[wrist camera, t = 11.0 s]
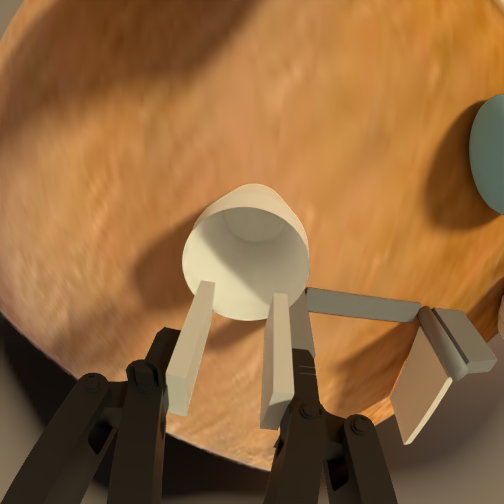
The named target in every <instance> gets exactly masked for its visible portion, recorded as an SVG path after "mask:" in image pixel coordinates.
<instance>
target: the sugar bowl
mask: <svg viewBox="0 0 504 504" xmlns="http://www.w3.org/2000/svg"><path fill="white" fill-rule="evenodd" d="M469 157H470V165H471V171H472V175H473V179H474V182H475V185H476V187H477V189H478V191H479V193H480V195H481V197H482V198H483V200H484V201H485V202H486V203H487V205H488V206H489V207H490V208H492V209H493V210H495V211H496V212H498V213H500V214H503V215H504V94H500V95H496V96H494V97H492V98H490V99H489V100H487V101H486V102H485V103H484V104H483V105H482V106H481V108H480V109H479V111H478V113H477V115H476V117H475V119H474V122H473V125H472V129H471V134H470V141H469Z"/></svg>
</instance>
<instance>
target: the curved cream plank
mask: <svg viewBox="0 0 504 504" xmlns="http://www.w3.org/2000/svg"><path fill="white" fill-rule="evenodd" d="M452 381H453V380H452V378H451V376H450V374H449V372H448V371H447V369H446V367H445V365H444V363H443V361H442V359H441V358H440V356H439V354H438V352H437V350H436V348H435V347H434V345H433V343H432V341H431V340H430V338H429V336H428V334H427V333H426V331H425V329H424V328H423V326H419V329H418V332H417V334H416V337H415V340H414V342H413V345H412V348H411V350H410V353H409V355H408V358H407V360H406V363H405V365H404V367H403V370H402V372H401V374H400V377H399V379H398V381H397V383H396V385H395V388H394V390H393V392H392V394H391V396H390V400H391V403H392V406H393V409H394V413H395V416H396V419H397V422H398V426H399V429H400V433H401V436H402V440H403V443H404V445H405V444H410V443H411V442H412V441H413V440H414V438H415V437H416V436H417V434H418V433H419V432H420V430H421V429H422V427H423V426H424V425H425V423H426V422H427V420H428V419H429V417H430V416H431V415H432V413H433V412H434V410H435V409H436V407H437V406H438V404H439V402H440V401H441V399H442V398H443V396H444V394H445V393H446V391H447V389H448V388H449V386H450V384H451V383H452Z"/></svg>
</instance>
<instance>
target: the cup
mask: <svg viewBox="0 0 504 504" xmlns="http://www.w3.org/2000/svg"><path fill="white" fill-rule="evenodd" d="M182 266H183V273H184V277H185V280H186V282H187V284H188V286H189V288H190V290H191V291H192V293H193V294H194V295H195V294H196V292H197V289H198V287H199V284H200V282H201V280H203V281H209V282H215V290H214V299H213V309H212V311H213V312H215V313H217V314H219V315H222V316H224V317H227V318H231V319H236V320H244V321H254V320H261V319H266V318H268V313H269V309H270V305H271V301H272V296H273V292H275V293H282V294H288V305H289V307H290V306H291V305H292V304H294V303H295V301H296V300H297V299H298V298H299V297H300V295H301V294H302V292H303V291H304V289H305V287H306V284H307V281H308V278H309V272H310V260H309V252H308V241H307V237H306V233H305V230H304V228H303V226H302V224H301V222H300V220H299V219H298V217H297V216H296V215H295V213H294V212H293V211H292V210H291V208H290V207H289V206H288V205H287V204H286V203H285V201H284V200H283V199H282V198H281V197H280V196H279V194H278V193H277V192H275V191H274V190H273V189H271V188H270V187H268V186H265V185H262V184H246V185H242V186H240V187H238V188H236V189H235V190H233V191H231V192H229V193H228V194H226V195H224V196H223V197H221V198H220V199H218V200H216V201H215V202H213V203H212V204H211V205H209V206H208V207H207V208H206V209H205V210H204V211H203V212H202V213H201V215H200V216H199V217H198V219H197V220H196V222H195V224H194V226H193V229H192V232H191V233H190V235H189V237H188V239H187V241H186V244H185V247H184V251H183V257H182Z"/></svg>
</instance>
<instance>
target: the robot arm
mask: <svg viewBox="0 0 504 504" xmlns="http://www.w3.org/2000/svg"><path fill="white" fill-rule="evenodd" d="M214 290H215V282H209V281H203V280H201V282H200V284H199V287H198V289H197V292H196V294H195V297H194V299H193V302H192V305H191V307H190V310H189V312H188V315H187V317H186V320H185V323H184V325H183V328H182V330H181V331H180V330H176V329H171V328H166V327H164V328H163V329H162V330H160V331H159V332H158V333H157V334H156V336H155V339H154V341H153V343H152V345H151V347H150V349H149V352H148V354H147V356H146V358H145V359H144V360H136V361H133V362H132V363H131V364H129V365H128V367H127V369H126V373H127V378H128V381H123V382H108V380H107V379H106V378H105V377H104V376H103V375H101V374H98V373H88V374H85V375H83V376H82V377H81V378H80V379H79V380H78V382H77V383H76V384H75V386H74V387H73V389H72V390H71V391H70V393H69V394H68V396H67V397H66V399H65V400H64V402H63V403H62V405H61V406H60V408H59V409H58V410H57V412H56V414H55V415H54V417H53V418H52V419H51V421H50V422H49V424H48V425H47V427H46V429H45V430H44V431H43V433H42V435H41V436H40V438H39V440H38V441H37V443H36V444H35V446H34V447H33V449H32V450H31V452H30V454H29V455H28V457H27V459H26V460H25V462H24V463H23V465H22V467H21V469H20V470H19V472H18V474H17V475H16V477H15V479H14V480H13V482H12V484H11V486H10V487H9V489H8V491H7V493H6V495H5V496H4V498H3V500H2V502H1V504H80V503H81V501H82V499H83V497H84V495H85V492H86V490H87V488H88V486H89V484H90V482H91V480H92V478H93V476H94V474H95V472H96V470H97V468H98V466H99V464H100V462H101V460H102V458H103V456H104V454H105V452H106V450H107V448H108V446H109V444H110V442H111V440H112V438H113V436H114V434H115V433H116V431H117V429H118V427H119V430H118V436H117V441H116V446H115V452H114V458H113V464H112V470H111V477H110V483H109V491H108V499H107V504H161V486H162V470H163V469H162V468H163V454H164V442H165V430H166V414H167V410H168V409H169V413H172V414H176V415H181V416H185V417H187V413H188V409H189V405H190V401H191V397H192V393H193V389H194V385H195V381H196V378H197V374H198V370H199V366H200V362H201V358H202V355H203V351H204V347H205V343H206V340H207V336H208V332H209V328H210V325H211V319H212V309H213V299H214ZM279 426H280V436H279V438H278V440H277V441H276V443H275V445H274V447H275V448H276V450H275V454H274V459H273V463H272V468H271V472H270V477H269V481H268V486H267V490H266V494H265V498H264V502H263V504H317V503H318V495H319V487H320V479H321V470H322V463H323V468H324V474H325V480H326V486H327V491H328V497H329V503H330V504H398V503H397V499H396V496H395V492H394V488H393V485H392V481H391V478H390V475H389V471H388V468H387V465H386V461H385V458H384V455H383V452H382V448H381V445H380V442H379V439H378V436H377V433H376V430H375V427H374V424H373V423H372V421H371V420H370V419H369V418H368V417H366V416H363V415H359V414H354V415H351V416H349V417H348V418H347V419H345V418H341V417H338V416H335V415H332V414H330V413H328V412H327V411H326V410H325V409H324V407H323V406H322V405H321V404H320V401H319V394H318V386H317V379H316V371H315V364H314V358H313V356H312V355H311V353H310V352H309V350H305V349H296V348H292V347H291V332H290V319H289V305H288V294H282V293H275V292H273V296H272V301H271V305H270V309H269V313H268V318H267V322H266V326H265V330H264V350H263V373H262V395H261V415H260V428H261V429H271V430H278V428H279Z"/></svg>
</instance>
